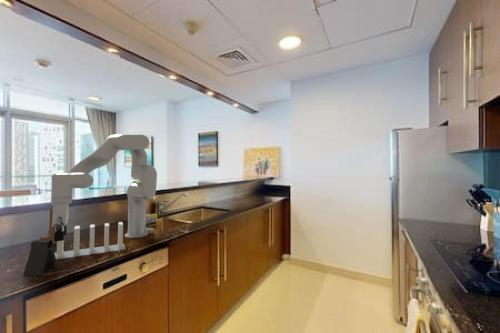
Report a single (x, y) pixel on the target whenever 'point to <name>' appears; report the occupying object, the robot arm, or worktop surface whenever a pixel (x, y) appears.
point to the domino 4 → (106, 237)
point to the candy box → (151, 220)
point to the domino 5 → (120, 235)
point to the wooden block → (50, 230)
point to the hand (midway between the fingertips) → (60, 237)
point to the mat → (86, 251)
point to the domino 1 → (60, 248)
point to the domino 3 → (92, 238)
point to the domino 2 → (76, 240)
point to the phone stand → (40, 258)
